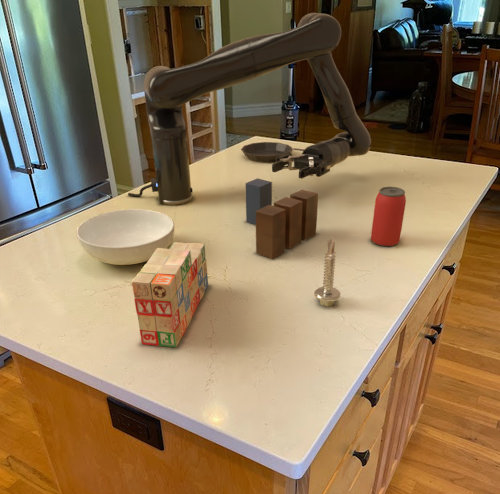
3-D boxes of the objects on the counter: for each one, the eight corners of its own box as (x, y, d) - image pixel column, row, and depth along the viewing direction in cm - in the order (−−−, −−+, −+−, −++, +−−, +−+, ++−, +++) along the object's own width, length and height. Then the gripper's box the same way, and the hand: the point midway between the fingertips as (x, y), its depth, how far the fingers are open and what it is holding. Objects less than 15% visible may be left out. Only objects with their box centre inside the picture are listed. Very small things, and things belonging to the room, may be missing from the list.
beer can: (402, 238, 120) (410, 188, 113) (396, 249, 115) (404, 197, 109) (374, 233, 123) (380, 184, 116) (367, 244, 118) (373, 193, 111)
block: (257, 216, 133) (257, 178, 127) (271, 220, 130) (272, 181, 125) (246, 222, 130) (245, 183, 124) (260, 226, 127) (260, 186, 122)
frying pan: (255, 147, 187) (255, 136, 185) (338, 157, 175) (339, 146, 173) (231, 160, 175) (231, 148, 172) (319, 172, 162) (320, 160, 160)
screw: (344, 306, 96) (321, 312, 94) (331, 294, 100) (309, 299, 98) (351, 241, 88) (326, 247, 87) (336, 231, 92) (312, 236, 91)
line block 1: (268, 246, 118) (269, 204, 112) (284, 251, 115) (285, 209, 110) (256, 253, 115) (255, 210, 109) (272, 259, 112) (272, 215, 107)
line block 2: (285, 237, 122) (286, 196, 116) (301, 242, 119) (302, 201, 113) (273, 244, 119) (273, 202, 113) (289, 249, 116) (290, 207, 111)
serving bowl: (95, 285, 104) (88, 254, 100) (73, 247, 119) (67, 219, 115) (191, 262, 112) (188, 233, 108) (159, 229, 127) (155, 202, 123)
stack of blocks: (178, 283, 104) (172, 226, 97) (208, 286, 103) (204, 228, 96) (141, 344, 87) (130, 280, 80) (176, 348, 86) (169, 283, 79)
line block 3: (300, 229, 125) (302, 189, 120) (316, 234, 123) (318, 193, 117) (289, 235, 123) (290, 194, 117) (304, 240, 120) (306, 199, 114)
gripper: (300, 138, 143) (264, 151, 133) (345, 146, 135) (309, 161, 125) (300, 165, 147) (264, 180, 137) (342, 175, 140) (308, 191, 130)
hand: (286, 171), depth 131 cm, fingers open, 8 cm apart
